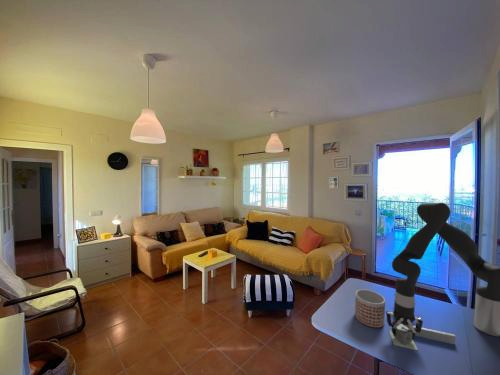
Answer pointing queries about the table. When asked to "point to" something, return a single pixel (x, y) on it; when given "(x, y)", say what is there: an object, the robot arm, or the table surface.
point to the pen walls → (435, 335)
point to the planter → (370, 308)
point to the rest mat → (398, 343)
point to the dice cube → (403, 334)
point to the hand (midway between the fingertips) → (402, 336)
